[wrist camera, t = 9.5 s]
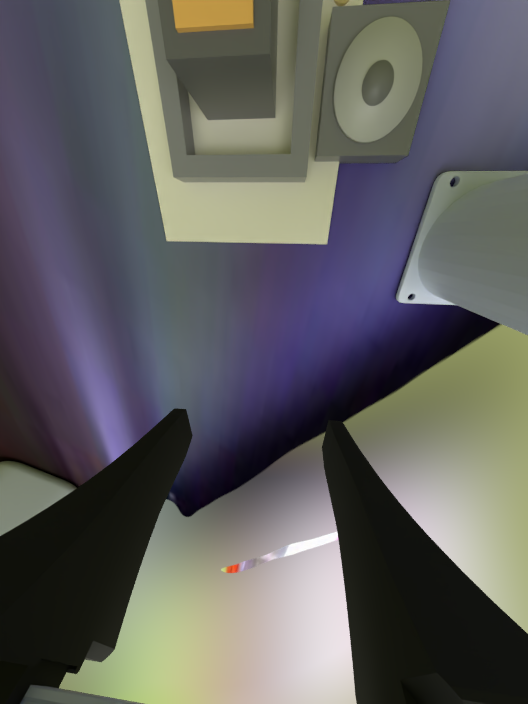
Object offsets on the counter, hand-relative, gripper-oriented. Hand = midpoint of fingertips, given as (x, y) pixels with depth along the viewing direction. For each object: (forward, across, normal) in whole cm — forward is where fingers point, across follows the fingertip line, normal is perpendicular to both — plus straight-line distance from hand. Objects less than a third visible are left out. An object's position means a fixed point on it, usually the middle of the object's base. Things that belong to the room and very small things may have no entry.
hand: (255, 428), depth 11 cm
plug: (+10, +2, -16) cm, 19 cm away
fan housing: (+10, -5, -15) cm, 19 cm away
